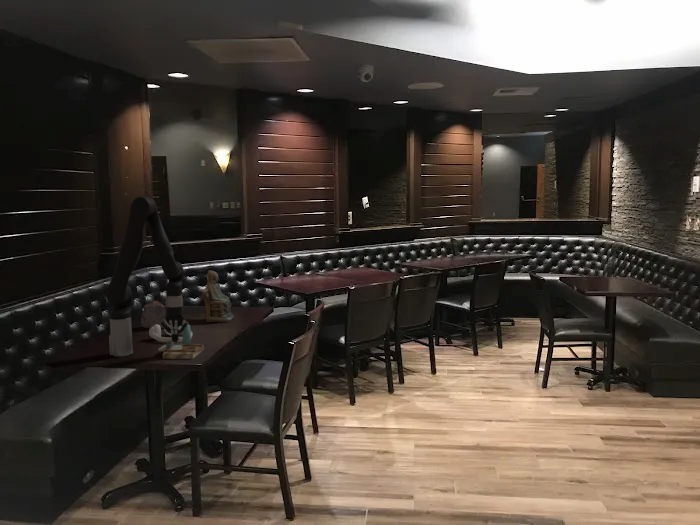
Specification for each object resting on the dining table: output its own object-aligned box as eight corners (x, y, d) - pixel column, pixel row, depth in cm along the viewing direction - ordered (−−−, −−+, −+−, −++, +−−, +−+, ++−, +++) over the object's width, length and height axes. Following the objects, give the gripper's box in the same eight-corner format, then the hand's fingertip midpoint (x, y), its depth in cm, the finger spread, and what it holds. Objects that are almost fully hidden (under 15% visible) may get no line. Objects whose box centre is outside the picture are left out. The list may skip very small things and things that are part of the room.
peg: (181, 348, 282) (180, 326, 281) (184, 346, 286) (183, 324, 285) (189, 348, 282) (188, 326, 281) (192, 346, 286) (191, 324, 285)
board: (162, 358, 265) (162, 351, 265) (175, 349, 281) (175, 342, 281) (193, 358, 264) (192, 351, 264) (204, 349, 280) (203, 342, 280)
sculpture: (227, 324, 336) (225, 273, 333) (200, 324, 336) (198, 273, 333) (236, 316, 360) (235, 268, 357) (211, 316, 361) (209, 268, 357)
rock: (173, 326, 333) (172, 300, 331) (158, 330, 322) (157, 304, 320) (154, 324, 339) (153, 298, 337) (139, 328, 328) (138, 302, 326)
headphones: (144, 340, 300) (171, 348, 290) (144, 324, 299) (172, 333, 289) (173, 332, 317) (200, 340, 307) (174, 318, 316) (201, 325, 306)
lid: (158, 351, 269) (157, 342, 268) (164, 346, 277) (164, 338, 277) (175, 351, 268) (175, 343, 268) (182, 346, 277) (181, 338, 276)
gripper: (157, 306, 267) (158, 343, 269) (185, 306, 266) (186, 344, 268) (163, 303, 274) (164, 339, 276) (191, 303, 274) (191, 340, 276)
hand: (175, 341), depth 272 cm, fingers closed
